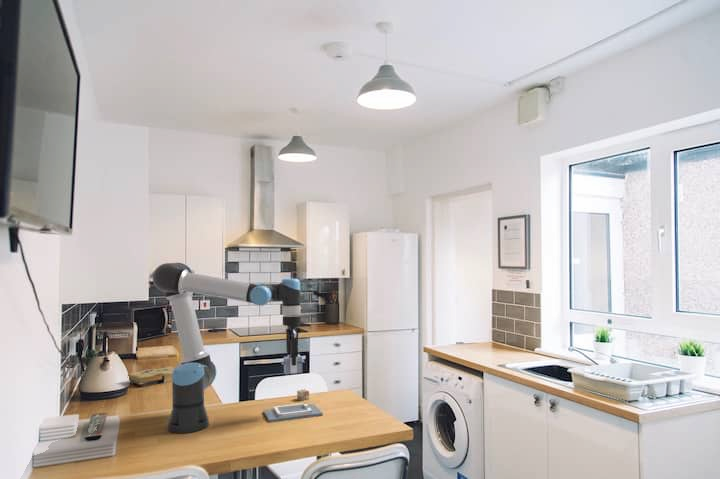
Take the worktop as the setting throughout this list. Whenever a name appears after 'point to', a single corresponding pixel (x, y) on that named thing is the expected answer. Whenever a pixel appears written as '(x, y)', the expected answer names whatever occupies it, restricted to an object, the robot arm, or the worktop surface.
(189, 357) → the robot arm
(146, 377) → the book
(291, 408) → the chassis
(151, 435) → the worktop surface
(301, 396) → the oak block
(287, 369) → the servo block
